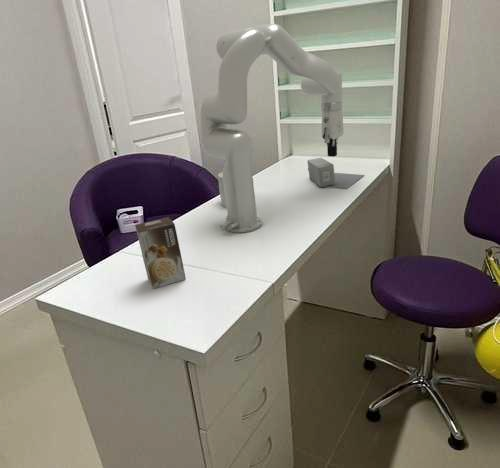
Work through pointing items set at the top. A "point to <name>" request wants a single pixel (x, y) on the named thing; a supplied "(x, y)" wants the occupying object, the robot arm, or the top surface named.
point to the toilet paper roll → (221, 189)
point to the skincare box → (321, 172)
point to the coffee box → (160, 252)
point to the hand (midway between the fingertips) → (332, 155)
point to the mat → (344, 180)
